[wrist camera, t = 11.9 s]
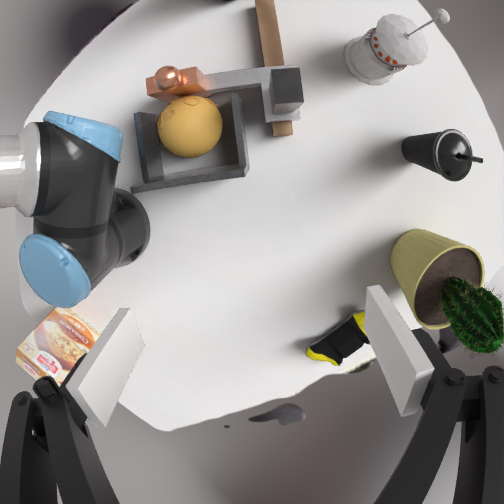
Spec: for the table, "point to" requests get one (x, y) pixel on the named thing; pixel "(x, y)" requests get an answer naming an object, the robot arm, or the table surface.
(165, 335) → the table surface
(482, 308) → the potted cactus
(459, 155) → the drinking cup
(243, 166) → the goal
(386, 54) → the french press
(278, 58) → the rail
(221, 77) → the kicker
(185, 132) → the stress ball
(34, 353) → the coffeecake box
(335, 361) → the black and yellow shoe
